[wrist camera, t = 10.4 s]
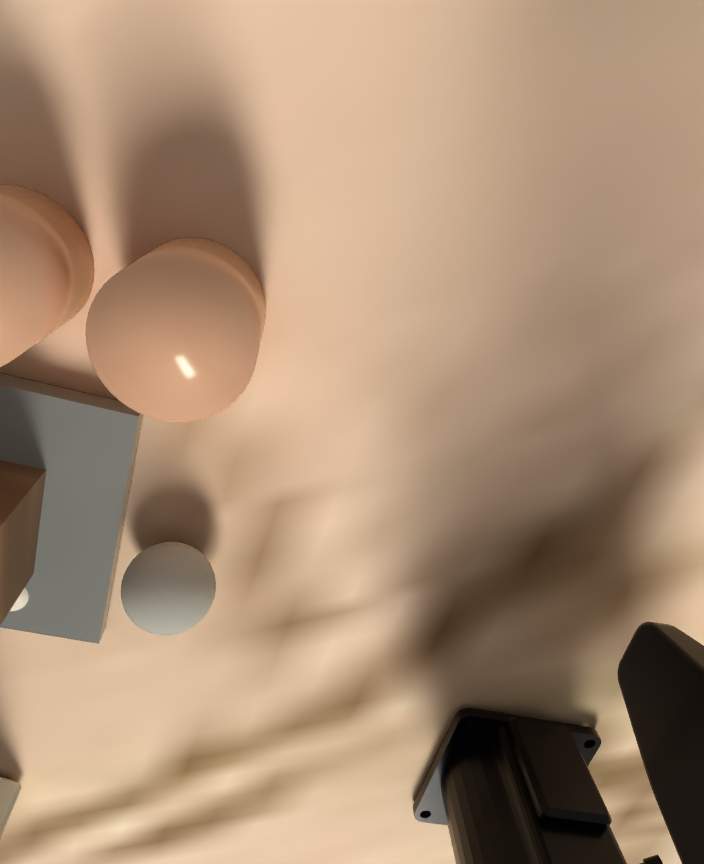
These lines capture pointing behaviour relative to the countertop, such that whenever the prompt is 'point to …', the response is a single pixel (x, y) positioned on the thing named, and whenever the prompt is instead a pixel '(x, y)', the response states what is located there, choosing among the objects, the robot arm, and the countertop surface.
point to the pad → (70, 501)
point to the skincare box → (7, 800)
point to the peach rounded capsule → (178, 330)
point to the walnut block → (18, 528)
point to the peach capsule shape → (38, 269)
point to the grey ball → (168, 588)
